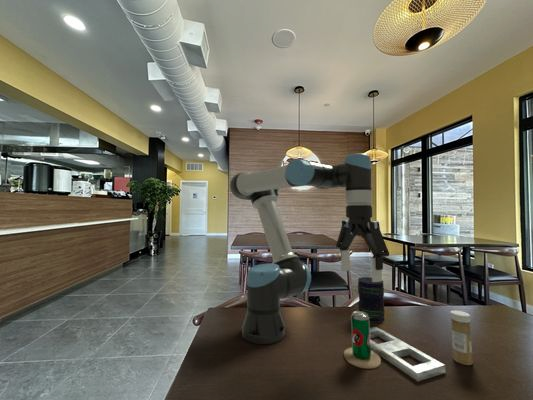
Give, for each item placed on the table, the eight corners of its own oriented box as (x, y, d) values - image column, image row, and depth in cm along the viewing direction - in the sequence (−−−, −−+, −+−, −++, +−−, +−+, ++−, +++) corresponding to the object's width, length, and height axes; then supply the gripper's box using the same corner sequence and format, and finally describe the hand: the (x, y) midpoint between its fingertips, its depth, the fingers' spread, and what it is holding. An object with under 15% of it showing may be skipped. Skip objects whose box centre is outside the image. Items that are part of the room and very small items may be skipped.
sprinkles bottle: (477, 364, 69) (474, 315, 70) (464, 366, 68) (461, 316, 69) (460, 355, 73) (458, 309, 74) (448, 357, 72) (446, 310, 73)
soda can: (372, 361, 69) (370, 317, 70) (353, 359, 70) (352, 316, 71) (369, 352, 74) (367, 310, 75) (351, 350, 75) (349, 309, 76)
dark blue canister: (389, 322, 96) (388, 283, 97) (364, 322, 96) (363, 283, 97) (378, 312, 106) (377, 277, 107) (355, 312, 106) (354, 277, 107)
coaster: (337, 352, 75) (337, 350, 75) (363, 346, 78) (363, 344, 78) (359, 372, 66) (359, 369, 66) (388, 364, 69) (388, 362, 69)
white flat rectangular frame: (353, 337, 84) (353, 331, 85) (376, 332, 88) (376, 326, 88) (417, 381, 62) (417, 373, 62) (445, 372, 65) (445, 364, 65)
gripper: (402, 203, 65) (405, 285, 64) (343, 206, 88) (344, 266, 87) (380, 202, 62) (382, 288, 61) (325, 206, 86) (326, 267, 85)
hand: (360, 275), depth 74 cm, fingers open, 13 cm apart
